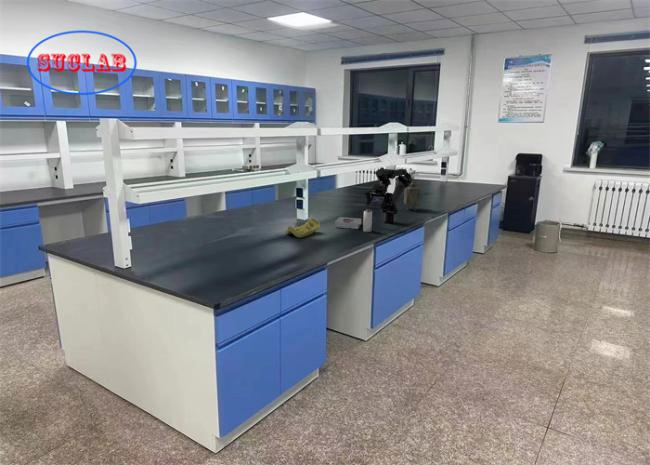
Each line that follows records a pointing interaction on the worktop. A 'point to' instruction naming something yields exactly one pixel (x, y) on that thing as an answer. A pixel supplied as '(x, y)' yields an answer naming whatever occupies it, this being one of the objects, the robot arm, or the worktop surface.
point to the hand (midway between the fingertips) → (373, 207)
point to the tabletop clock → (412, 195)
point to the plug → (367, 221)
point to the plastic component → (304, 228)
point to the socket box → (348, 223)
